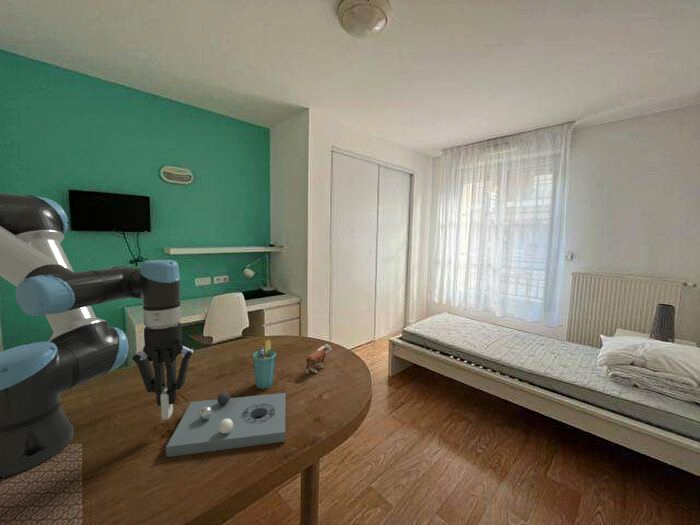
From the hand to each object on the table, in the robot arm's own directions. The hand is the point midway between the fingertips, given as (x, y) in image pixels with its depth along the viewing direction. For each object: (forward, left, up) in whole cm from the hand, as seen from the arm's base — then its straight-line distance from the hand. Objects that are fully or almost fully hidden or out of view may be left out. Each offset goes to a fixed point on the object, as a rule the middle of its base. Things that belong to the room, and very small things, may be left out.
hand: (167, 415), depth 69 cm
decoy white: (+15, -6, 0) cm, 16 cm away
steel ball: (+9, 0, 0) cm, 9 cm away
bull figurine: (+41, +27, -5) cm, 49 cm away
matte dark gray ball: (+12, +6, 0) cm, 13 cm away
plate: (+16, 0, -5) cm, 16 cm away
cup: (+22, +18, -5) cm, 29 cm away
